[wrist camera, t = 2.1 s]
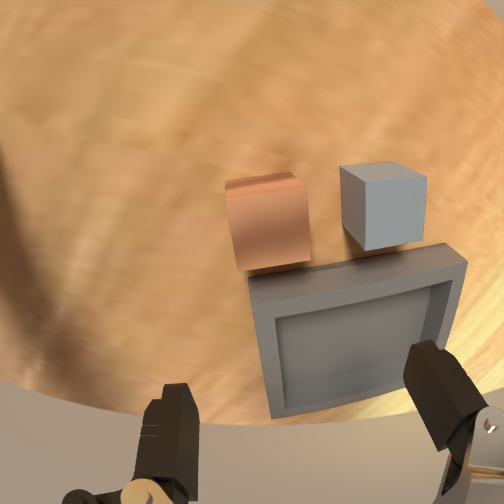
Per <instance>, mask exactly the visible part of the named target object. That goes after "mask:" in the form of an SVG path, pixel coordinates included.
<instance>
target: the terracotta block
mask: <svg viewBox="0 0 504 504" xmlns="http://www.w3.org/2000/svg"><path fill="white" fill-rule="evenodd" d="M225 201H226V207H227V213H228V219H229V224H230V230H231V236H232V241H233V247H234V252H235V258H236V263H237V269H238V272H240V271H246V270H253V269H259V268H265V267H272V266H278V265H284V264H290V263H296V262H302V261H308V260H311V247H310V231H309V216H308V203H307V190H306V188H305V187H304V186H303V185H302V183H301V182H300V181H299V180H298V179H297V178H296V177H295V176H294V175H293V174H292V173H291V172H287V173H279V174H272V175H265V176H258V177H251V178H245V179H238V180H232V181H226V182H225Z"/></svg>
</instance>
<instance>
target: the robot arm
mask: <svg viewBox="0 0 504 504" xmlns="http://www.w3.org/2000/svg"><path fill="white" fill-rule="evenodd" d="M403 380H404V384H405V387H406V389H407V390H408V392H409V394H410V396H411V398H412V400H413V402H414V404H415V406H416V408H417V410H418V412H419V414H420V416H421V418H422V420H423V421H424V424H425V426H426V428H427V430H428V432H429V434H430V436H431V438H432V440H433V442H434V444H435V446H436V448H437V451H438V452H439V451H442V450H444V449H446V448H448V449H449V451H450V454H449V456H448V459H447V463H446V466H445V470H444V474H443V477H442V481H441V484H440V487H439V490H438V493H437V496H436V499H435V501H434V502H433V504H504V411H503V410H502V409H500V408H497V407H493V406H491V407H490V406H489V405H488V404H487V403H486V402H485V400H484V398H483V397H482V395H481V394H480V392H479V391H478V389H477V388H476V386H475V385H474V383H473V382H472V380H471V379H470V378H469V376H467V373H466V372H465V370H464V369H463V368H462V367H461V365H460V363H459V362H458V360H457V359H456V358H455V356H453V355H452V354H451V353H449V352H448V351H446V350H445V349H442V350H439V348H438V347H437V345H436V344H435V343H434V341H433V340H431V339H428V340H425V341H422V342H418V343H415V344H412V345H411V347H410V350H409V354H408V357H407V361H406V364H405V367H404V371H403ZM142 424H143V426H142V428H141V437H140V440H139V446H138V452H137V458H136V465H135V472H134V476H133V478H132V480H131V482H129V483H128V484H127V485H126V486H125V487H124V488H123V489H121V490H119V491H115V492H110V493H105V494H99V495H92V494H91V493H89V492H88V491H85V490H82V489H77V490H73V491H70V492H69V493H68V494H66V495H65V497H64V499H63V501H62V504H188V501H198V454H199V424H200V421H199V413H198V409H197V406H196V404H195V401H194V399H193V396H192V394H191V392H190V389H189V387H188V385H187V383H177V384H165V385H164V387H163V393H162V399H152V401H151V402H150V404H149V405H148V407H147V408H146V410H145V412H144V417H143V423H142Z"/></svg>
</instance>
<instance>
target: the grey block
mask: <svg viewBox="0 0 504 504" xmlns="http://www.w3.org/2000/svg"><path fill="white" fill-rule="evenodd" d="M340 177H341V199H342V225H343V226H344V227H345V228H346V230H347V231H348V232H349V233H350V234H351V235H352V236H353V238H354V239H355V240H356V241H357V242H358V243H359V244H360V246H361V247H362V248H363V249H364V250H365V251H368V250H373V249H379V248H385V247H391V246H396V245H402V244H407V243H413V242H419V241H423V233H424V222H425V209H426V191H427V176H425V175H423V174H421V173H418V172H416V171H414V170H412V169H409V168H407V167H405V166H403V165H400V164H398V163H396V162H387V163H374V164H361V165H350V166H340Z"/></svg>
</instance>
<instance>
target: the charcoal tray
mask: <svg viewBox="0 0 504 504" xmlns="http://www.w3.org/2000/svg"><path fill="white" fill-rule="evenodd" d="M467 264H468V261H467V260H466V259H465V258H463V257H462V256H461V255H460V254H459V253H457V252H456V251H455V250H454V249H452V248H451V247H450V246H449V245H447V244H446V243H442V244H437V245H432V246H427V247H422V248H417V249H411V250H406V251H401V252H395V253H390V254H385V255H379V256H374V257H368V258H362V259H357V260H351V261H346V262H340V263H334V264H328V265H323V266H317V267H311V268H305V269H299V270H293V271H287V272H281V273H275V274H268V275H262V276H256V277H249V278H248V283H249V290H250V298H251V305H252V311H253V317H254V323H255V328H256V334H257V340H258V346H259V351H260V357H261V363H262V369H263V374H264V380H265V386H266V391H267V397H268V402H269V408H270V414H271V419H277V418H283V417H289V416H295V415H300V414H305V413H310V412H315V411H320V410H324V409H329V408H333V407H337V406H342V405H346V404H350V403H354V402H357V401H361V400H365V399H368V398H372V397H375V396H379V395H382V394H386V393H389V392H392V391H395V390H398V389H401V388H404V387H405V384H404V380H403V371H404V367H405V364H406V361H407V357H408V354H409V350H410V347H411V345H412V344H415V343H418V342H422V341H425V340H428V339H431V340H433V341H434V343H435V344H436V345H437V347H438V348H439V350H442V349H445V346H446V343H447V340H448V337H449V334H450V330H451V327H452V324H453V320H454V317H455V313H456V310H457V306H458V302H459V299H460V295H461V291H462V287H463V282H464V278H465V273H466V269H467Z"/></svg>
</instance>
